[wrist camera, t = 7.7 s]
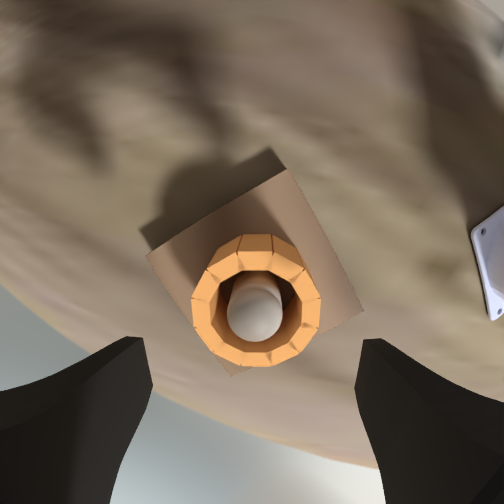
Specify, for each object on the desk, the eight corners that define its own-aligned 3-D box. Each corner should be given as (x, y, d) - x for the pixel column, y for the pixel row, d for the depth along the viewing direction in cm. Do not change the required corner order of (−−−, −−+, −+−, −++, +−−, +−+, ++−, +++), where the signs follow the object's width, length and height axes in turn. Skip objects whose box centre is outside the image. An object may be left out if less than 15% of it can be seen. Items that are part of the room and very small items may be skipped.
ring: (276, 214, 16) (280, 226, 12) (326, 302, 17) (340, 332, 14) (186, 267, 17) (167, 291, 13) (240, 346, 18) (235, 382, 14)
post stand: (286, 168, 17) (298, 167, 11) (357, 300, 18) (391, 354, 12) (153, 249, 18) (106, 285, 12) (233, 363, 20) (222, 429, 14)
